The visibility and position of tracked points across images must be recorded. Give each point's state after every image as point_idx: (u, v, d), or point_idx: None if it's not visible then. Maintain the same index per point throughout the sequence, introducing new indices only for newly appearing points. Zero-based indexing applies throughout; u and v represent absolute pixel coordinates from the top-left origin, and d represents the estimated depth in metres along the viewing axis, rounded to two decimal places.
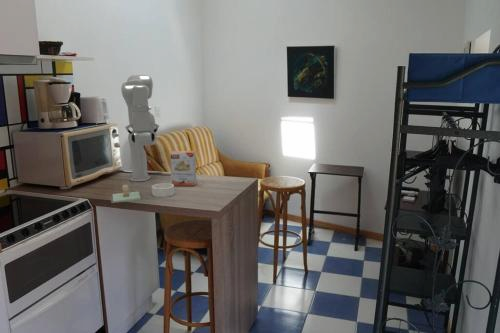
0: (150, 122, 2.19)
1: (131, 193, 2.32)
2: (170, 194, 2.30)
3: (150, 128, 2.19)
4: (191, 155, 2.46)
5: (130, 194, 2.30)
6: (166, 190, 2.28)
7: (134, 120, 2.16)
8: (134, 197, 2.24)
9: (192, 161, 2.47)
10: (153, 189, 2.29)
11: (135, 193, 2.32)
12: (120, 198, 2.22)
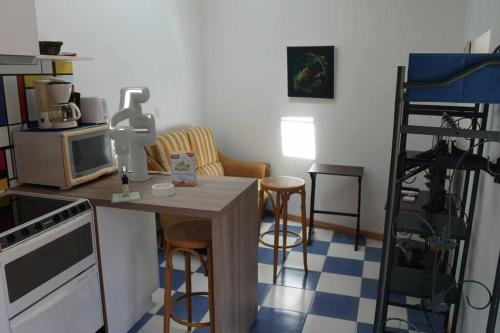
0: None
1: (131, 193, 2.32)
2: (170, 194, 2.30)
3: None
4: (191, 155, 2.46)
5: (130, 194, 2.30)
6: (166, 190, 2.28)
7: (127, 161, 2.19)
8: (134, 197, 2.24)
9: (192, 161, 2.47)
10: (153, 189, 2.29)
11: (135, 193, 2.32)
12: (120, 198, 2.22)
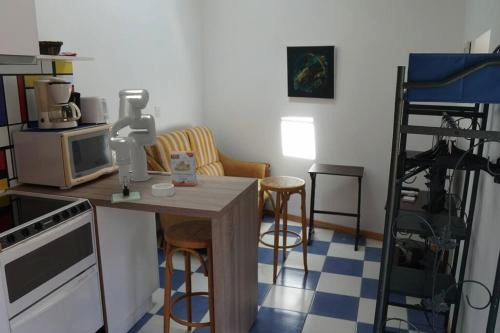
0: None
1: (131, 193, 2.32)
2: (170, 194, 2.30)
3: None
4: (191, 155, 2.46)
5: (130, 194, 2.30)
6: (166, 190, 2.28)
7: (128, 173, 2.21)
8: (134, 197, 2.24)
9: (192, 161, 2.47)
10: (153, 189, 2.29)
11: (135, 193, 2.32)
12: (120, 198, 2.22)
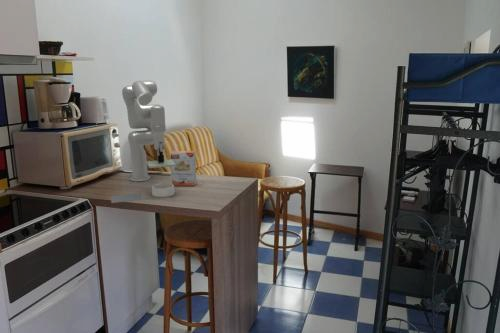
0: None
1: (165, 160, 2.35)
2: (170, 194, 2.30)
3: None
4: (191, 155, 2.46)
5: (164, 161, 2.33)
6: (166, 190, 2.28)
7: None
8: (169, 163, 2.27)
9: (192, 161, 2.47)
10: (153, 189, 2.29)
11: (169, 160, 2.35)
12: (155, 164, 2.25)
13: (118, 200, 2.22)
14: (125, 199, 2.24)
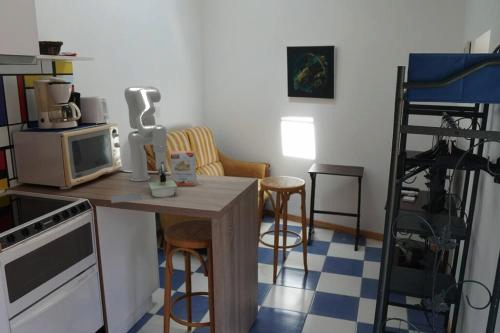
0: None
1: (166, 181, 2.37)
2: (170, 194, 2.30)
3: None
4: (191, 155, 2.46)
5: (166, 182, 2.35)
6: (166, 190, 2.28)
7: (165, 159, 2.26)
8: (171, 185, 2.29)
9: (192, 161, 2.47)
10: None
11: (171, 181, 2.38)
12: (157, 186, 2.28)
13: (118, 200, 2.22)
14: (125, 199, 2.24)
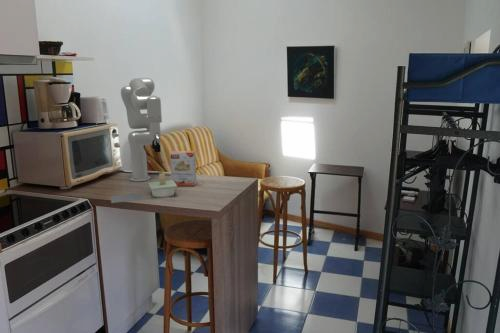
0: None
1: (166, 181, 2.37)
2: (170, 194, 2.30)
3: None
4: (191, 155, 2.46)
5: (166, 182, 2.35)
6: (166, 190, 2.28)
7: None
8: (171, 185, 2.29)
9: (192, 161, 2.47)
10: None
11: (171, 181, 2.38)
12: (157, 186, 2.28)
13: (118, 200, 2.22)
14: (125, 199, 2.24)
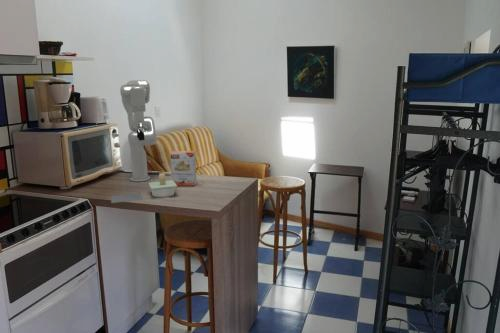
0: None
1: (166, 181, 2.37)
2: (170, 194, 2.30)
3: None
4: (191, 155, 2.46)
5: (166, 182, 2.35)
6: (166, 190, 2.28)
7: (143, 119, 2.32)
8: (171, 185, 2.29)
9: (192, 161, 2.47)
10: None
11: (171, 181, 2.38)
12: (157, 186, 2.28)
13: (118, 200, 2.22)
14: (125, 199, 2.24)
